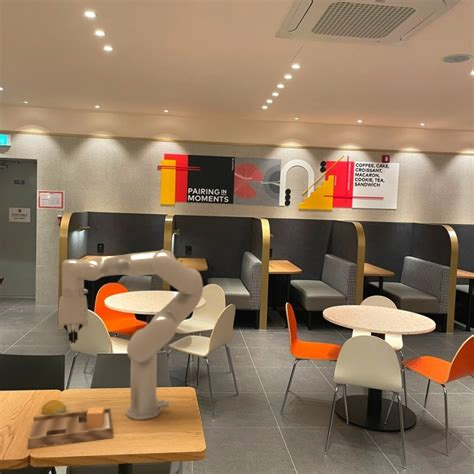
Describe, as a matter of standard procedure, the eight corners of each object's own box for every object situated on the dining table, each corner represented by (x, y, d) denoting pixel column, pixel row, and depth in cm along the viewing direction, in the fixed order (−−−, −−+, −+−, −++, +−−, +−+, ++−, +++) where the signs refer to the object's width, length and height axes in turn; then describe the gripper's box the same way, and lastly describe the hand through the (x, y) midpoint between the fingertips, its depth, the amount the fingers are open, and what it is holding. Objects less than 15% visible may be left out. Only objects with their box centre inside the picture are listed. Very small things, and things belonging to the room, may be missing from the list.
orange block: (104, 421, 164) (104, 407, 164) (101, 427, 159) (101, 413, 159) (89, 421, 164) (89, 407, 164) (86, 428, 159) (86, 413, 159)
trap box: (110, 416, 172) (110, 408, 172) (112, 437, 156) (112, 428, 156) (33, 425, 165) (33, 416, 164) (27, 448, 148) (27, 438, 148)
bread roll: (47, 419, 170) (47, 408, 170) (39, 411, 177) (39, 401, 177) (70, 413, 176) (70, 402, 175) (61, 405, 182) (61, 395, 182)
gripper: (94, 290, 178) (94, 338, 179) (52, 292, 173) (52, 341, 174) (94, 294, 171) (94, 343, 172) (50, 295, 166) (50, 346, 167)
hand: (73, 342), depth 173 cm, fingers closed
